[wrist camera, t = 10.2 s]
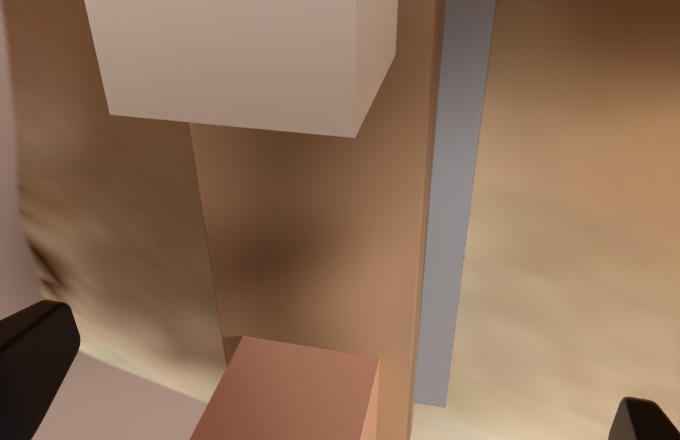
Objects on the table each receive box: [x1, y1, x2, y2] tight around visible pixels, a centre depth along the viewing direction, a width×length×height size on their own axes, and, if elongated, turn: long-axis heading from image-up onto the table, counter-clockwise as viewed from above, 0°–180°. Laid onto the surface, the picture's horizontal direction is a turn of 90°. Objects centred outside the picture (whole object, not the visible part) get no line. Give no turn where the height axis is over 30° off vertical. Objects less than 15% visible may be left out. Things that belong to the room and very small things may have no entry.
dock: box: [414, 0, 496, 408], centre depth 19 cm, size 8×20×3 cm, turn 0°
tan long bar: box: [188, 0, 446, 440], centre depth 16 cm, size 6×23×4 cm, turn 0°
